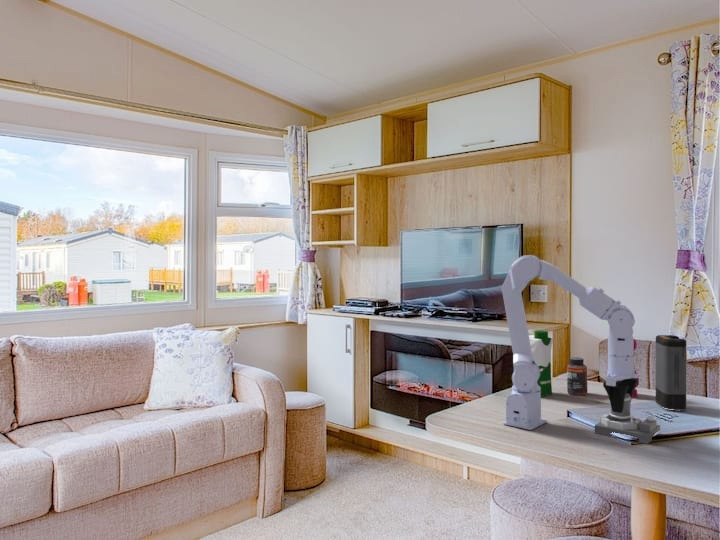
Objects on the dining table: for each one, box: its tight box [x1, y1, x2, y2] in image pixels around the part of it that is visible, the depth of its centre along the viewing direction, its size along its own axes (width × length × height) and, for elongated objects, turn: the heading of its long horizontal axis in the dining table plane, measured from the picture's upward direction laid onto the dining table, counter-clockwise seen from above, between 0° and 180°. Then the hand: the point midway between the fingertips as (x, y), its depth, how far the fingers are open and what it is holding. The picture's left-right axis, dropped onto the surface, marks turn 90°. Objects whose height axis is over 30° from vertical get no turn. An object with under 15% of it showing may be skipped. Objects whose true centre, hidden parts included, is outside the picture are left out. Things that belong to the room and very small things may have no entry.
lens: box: [609, 393, 632, 421], centre depth 137 cm, size 5×5×6 cm
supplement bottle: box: [566, 356, 588, 397], centre depth 174 cm, size 6×6×11 cm
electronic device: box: [655, 334, 687, 412], centre depth 158 cm, size 9×6×20 cm, turn 168°
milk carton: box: [529, 330, 554, 398], centre depth 175 cm, size 9×9×20 cm
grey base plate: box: [594, 413, 661, 445], centre depth 136 cm, size 10×12×4 cm
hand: (620, 409), depth 137 cm, fingers closed on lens, 4 cm apart
